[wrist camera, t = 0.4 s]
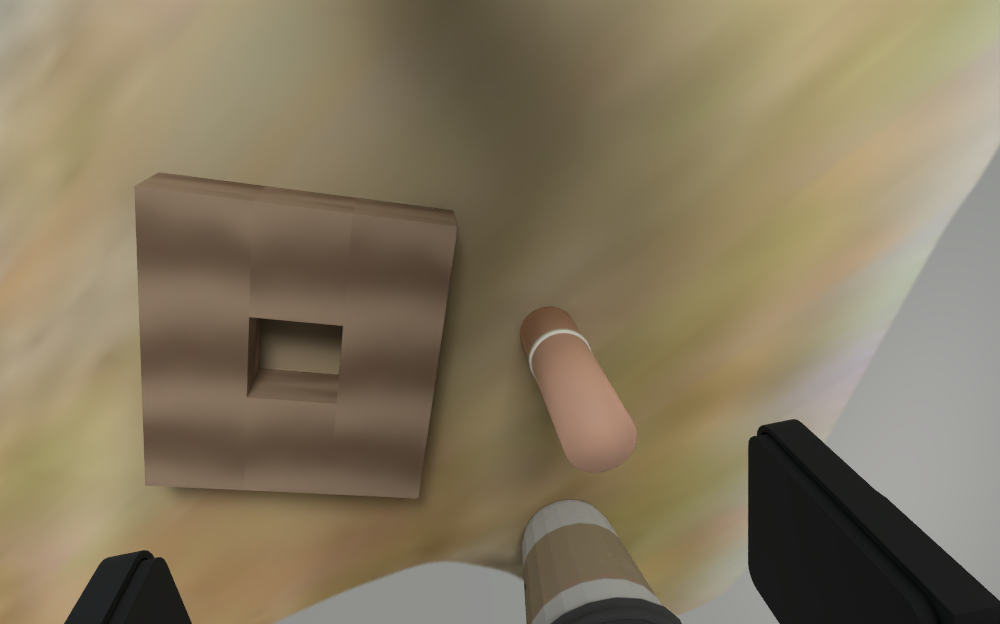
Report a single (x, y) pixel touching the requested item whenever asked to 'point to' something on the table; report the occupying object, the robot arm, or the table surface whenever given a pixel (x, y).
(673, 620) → the coffee cup
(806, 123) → the table surface
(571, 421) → the peg
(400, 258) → the board
